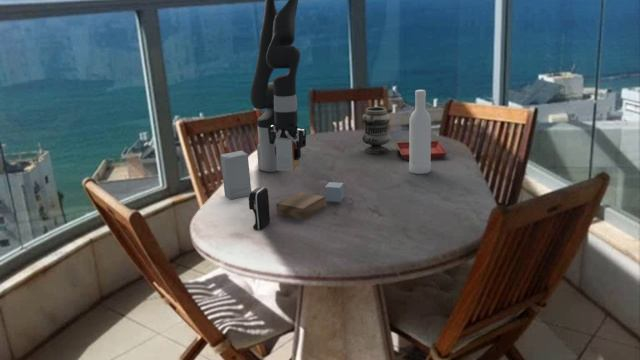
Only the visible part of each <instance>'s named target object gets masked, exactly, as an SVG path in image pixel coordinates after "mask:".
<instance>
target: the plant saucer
mask: <svg viewBox="0 0 640 360" xmlns="http://www.w3.org/2000/svg"><path fill="white" fill-rule="evenodd" d="M396 146H397V149H398V151H399V153H400V155H401V157H402V158H403V160H407V161H408V160H409V141H406V142H405V141H401V142H396ZM446 154H447V151H446V149H445V147H444V146H443V145H442V144H441V142H440V141H437V140H435V141H432V140H431V160H432V159H433V160H435V159H434V158H437V159H442V158H443V157H444V156H445V155H446Z"/></svg>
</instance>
